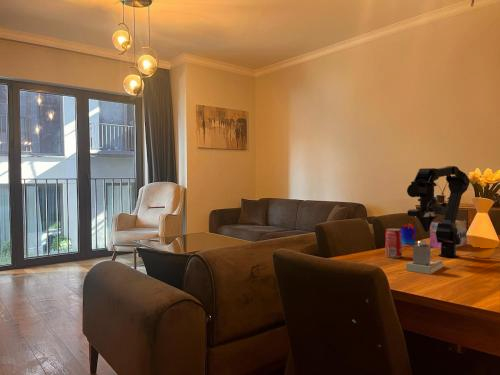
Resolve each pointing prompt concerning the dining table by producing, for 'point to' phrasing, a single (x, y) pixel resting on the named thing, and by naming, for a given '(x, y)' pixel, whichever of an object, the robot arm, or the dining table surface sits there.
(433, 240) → the gum box
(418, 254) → the gray block silver cap
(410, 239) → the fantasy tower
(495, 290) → the dining table surface
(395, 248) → the soda can
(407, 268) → the rail
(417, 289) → the dining table surface
